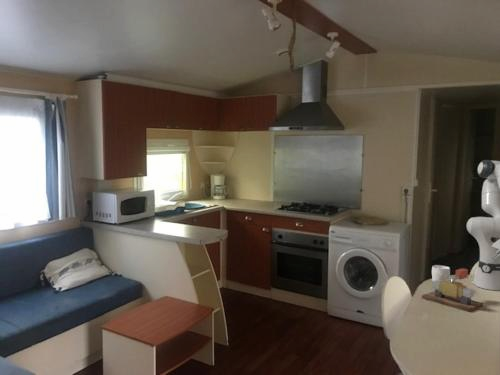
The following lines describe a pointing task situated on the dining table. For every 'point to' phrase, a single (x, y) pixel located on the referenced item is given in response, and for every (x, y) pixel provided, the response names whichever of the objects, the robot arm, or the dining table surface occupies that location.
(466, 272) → the lever
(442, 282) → the valve
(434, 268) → the cup
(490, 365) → the dining table surface
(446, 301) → the board
